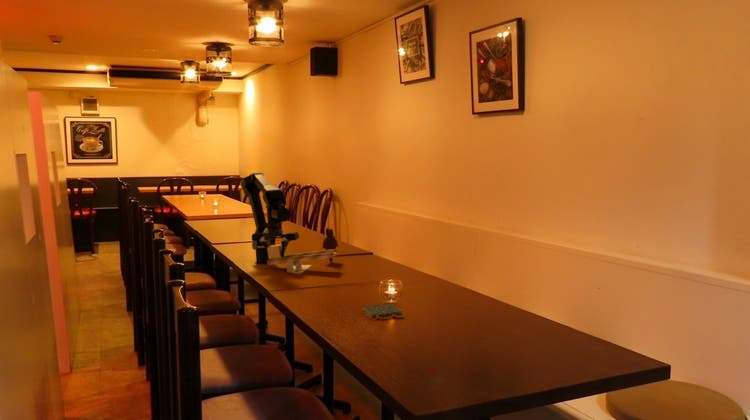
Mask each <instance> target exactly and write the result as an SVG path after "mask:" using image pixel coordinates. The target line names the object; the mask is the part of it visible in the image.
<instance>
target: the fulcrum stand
mask: <svg viewBox="0 0 750 420" xmlns="http://www.w3.org/2000/svg"><path fill="white" fill-rule="evenodd" d="M312 266H313V265H312V264H302V261H298V262H287V263H286V273H292V274H295V275H297V274H298V275H301V274H302V273H304V272H306V271H307V270H308V269H310V268H311V267H312Z"/></svg>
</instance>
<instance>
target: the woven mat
mask: <svg viewBox="0 0 750 420" xmlns="http://www.w3.org/2000/svg"><path fill="white" fill-rule="evenodd" d="M362 307H363V309H361V311H362V312H363V313H364V314H366V317H368V318H369V319H371V321H372V320H373V321H374V320H375V321H377V320H387V319H388V320H389V319H392V318H397V319H399V318H405V314H404V313H403V312H404V311H403V310H402V309H401V308H399V307H397V306H396V305H395V304H394V303H390V302H388V303H386V304H385V303H383V304H378V305H375V304H373V305H368V306H365V305H363V306H362Z"/></svg>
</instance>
